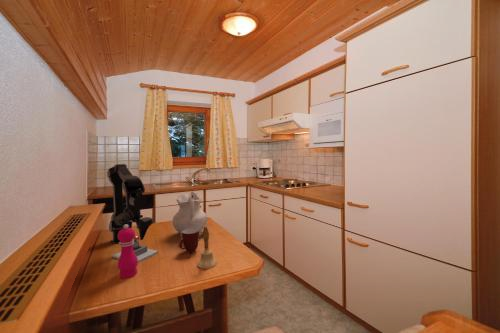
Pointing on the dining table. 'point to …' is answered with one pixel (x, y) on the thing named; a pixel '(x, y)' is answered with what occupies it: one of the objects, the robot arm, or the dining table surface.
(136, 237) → the pin
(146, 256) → the grey plate with socket
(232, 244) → the dining table surface
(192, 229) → the mug
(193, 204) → the ceramic pitcher
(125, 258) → the pepper mill
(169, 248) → the dining table surface
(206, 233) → the hand bell
